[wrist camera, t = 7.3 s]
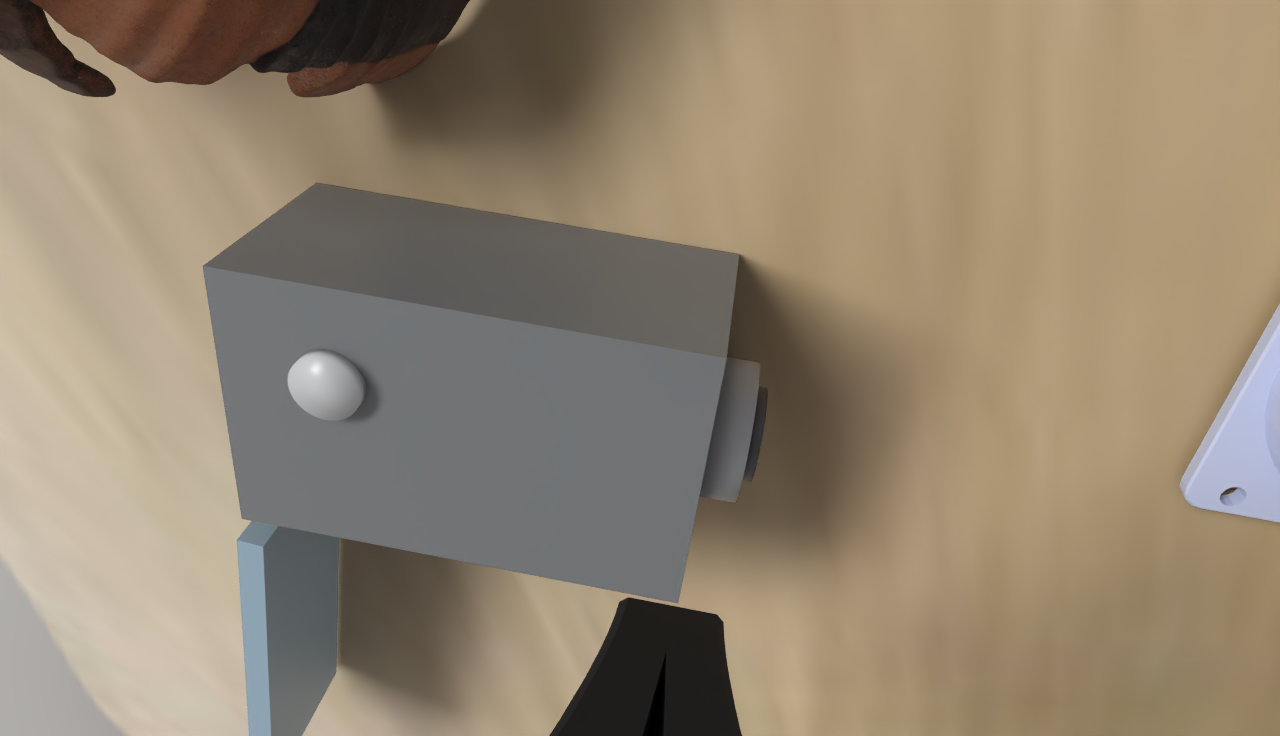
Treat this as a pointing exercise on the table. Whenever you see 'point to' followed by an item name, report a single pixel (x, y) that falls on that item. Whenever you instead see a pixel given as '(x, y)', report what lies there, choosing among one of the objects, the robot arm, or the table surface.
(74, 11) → the pottery mug
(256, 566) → the door
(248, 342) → the camera body
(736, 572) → the table surface
